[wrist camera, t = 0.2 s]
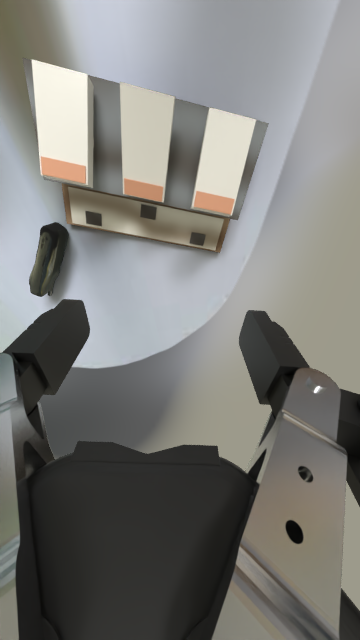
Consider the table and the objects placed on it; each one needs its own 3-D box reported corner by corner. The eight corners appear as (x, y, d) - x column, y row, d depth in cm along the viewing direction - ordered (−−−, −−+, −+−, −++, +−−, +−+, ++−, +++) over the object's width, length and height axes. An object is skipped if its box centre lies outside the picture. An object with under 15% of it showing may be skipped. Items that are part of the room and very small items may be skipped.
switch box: (51, 79, 24) (22, 57, 20) (253, 132, 27) (268, 123, 22) (69, 222, 33) (52, 229, 29) (219, 251, 36) (224, 261, 31)
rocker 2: (125, 83, 19) (119, 81, 18) (175, 97, 20) (174, 96, 18) (127, 188, 26) (122, 194, 24) (165, 196, 27) (163, 203, 25)
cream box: (205, 119, 22) (209, 106, 20) (248, 130, 23) (256, 118, 20) (190, 209, 26) (191, 207, 23) (226, 217, 26) (232, 215, 24)
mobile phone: (36, 223, 29) (24, 301, 36) (57, 234, 30) (41, 308, 37) (53, 218, 33) (40, 289, 41) (72, 228, 34) (55, 296, 41)
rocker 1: (46, 78, 20) (30, 58, 18) (96, 90, 21) (86, 73, 19) (53, 180, 24) (40, 174, 22) (95, 189, 25) (87, 184, 22)
